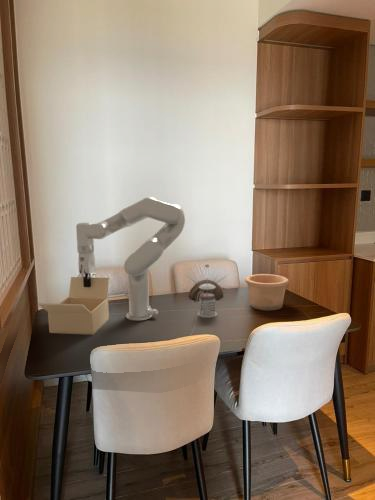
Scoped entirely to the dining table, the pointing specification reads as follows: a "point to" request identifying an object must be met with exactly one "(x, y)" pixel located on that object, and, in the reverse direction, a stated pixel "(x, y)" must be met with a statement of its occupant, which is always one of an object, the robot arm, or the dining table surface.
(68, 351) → the dining table surface
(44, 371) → the dining table surface
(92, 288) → the back flap
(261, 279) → the pottery
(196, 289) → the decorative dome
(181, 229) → the robot arm
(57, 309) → the front flap
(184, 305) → the dining table surface
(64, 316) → the carton
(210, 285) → the french press
